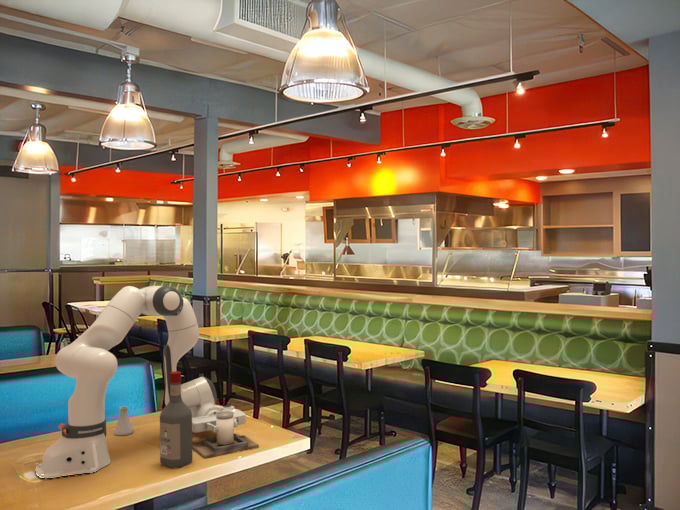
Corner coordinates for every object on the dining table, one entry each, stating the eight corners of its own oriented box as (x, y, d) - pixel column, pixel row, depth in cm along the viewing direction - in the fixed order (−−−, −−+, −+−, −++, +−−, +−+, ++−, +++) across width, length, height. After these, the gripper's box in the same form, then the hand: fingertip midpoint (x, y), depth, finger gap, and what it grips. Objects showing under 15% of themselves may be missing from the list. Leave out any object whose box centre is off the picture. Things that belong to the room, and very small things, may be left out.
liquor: (176, 469, 193) (174, 376, 192) (156, 464, 198) (155, 373, 197) (196, 461, 201) (195, 371, 200) (177, 456, 205) (175, 368, 205)
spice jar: (220, 445, 209) (219, 417, 209) (214, 441, 215) (213, 413, 214) (236, 442, 213) (236, 414, 213) (229, 437, 218) (229, 410, 218)
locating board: (204, 458, 203) (204, 451, 203) (191, 448, 214) (191, 441, 214) (258, 447, 213) (258, 440, 213) (243, 437, 224) (243, 431, 224)
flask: (137, 430, 235) (136, 405, 235) (128, 436, 228) (128, 410, 227) (119, 430, 236) (119, 404, 235) (110, 436, 228) (109, 409, 228)
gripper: (184, 413, 219) (197, 422, 207) (236, 405, 230) (252, 413, 218) (184, 430, 219) (197, 441, 207) (237, 421, 230) (252, 430, 218)
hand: (226, 426), depth 213 cm, fingers closed on spice jar, 6 cm apart
